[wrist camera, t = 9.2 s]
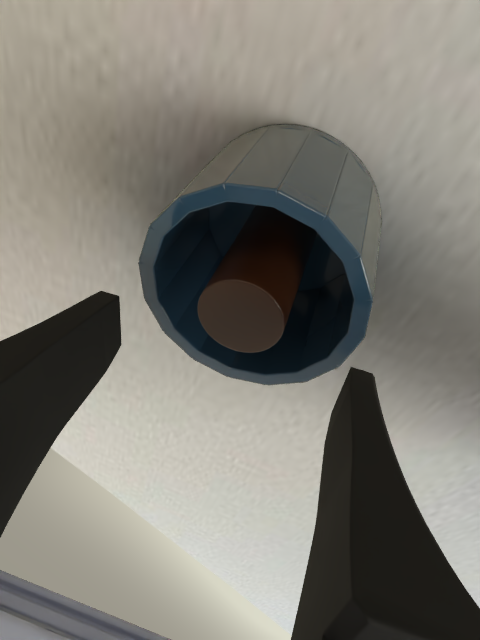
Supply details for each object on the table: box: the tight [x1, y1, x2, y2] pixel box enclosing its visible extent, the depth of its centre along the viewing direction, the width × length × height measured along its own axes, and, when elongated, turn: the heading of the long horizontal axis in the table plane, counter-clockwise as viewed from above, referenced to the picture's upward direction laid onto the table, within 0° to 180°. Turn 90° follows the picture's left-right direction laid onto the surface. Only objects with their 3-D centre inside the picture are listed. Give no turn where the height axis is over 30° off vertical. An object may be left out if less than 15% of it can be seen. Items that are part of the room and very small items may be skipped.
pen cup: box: [139, 124, 382, 385], centre depth 18 cm, size 8×8×6 cm
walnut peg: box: [198, 205, 317, 353], centre depth 18 cm, size 3×3×7 cm
